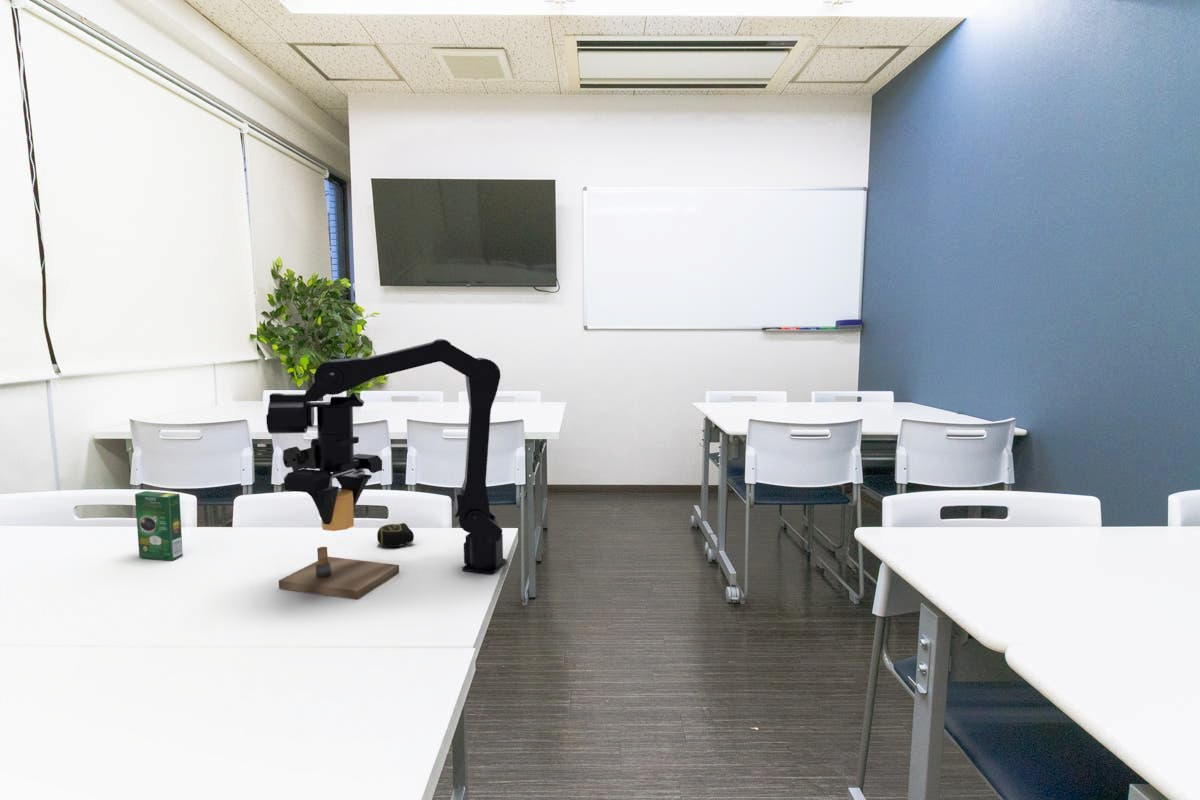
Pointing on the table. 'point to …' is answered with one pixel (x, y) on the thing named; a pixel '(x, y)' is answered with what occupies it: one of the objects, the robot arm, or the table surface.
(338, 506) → the orange wooden cylinder
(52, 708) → the table surface
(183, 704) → the table surface
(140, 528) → the coffee box
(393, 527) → the tape measure
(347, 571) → the wooden board with peg
